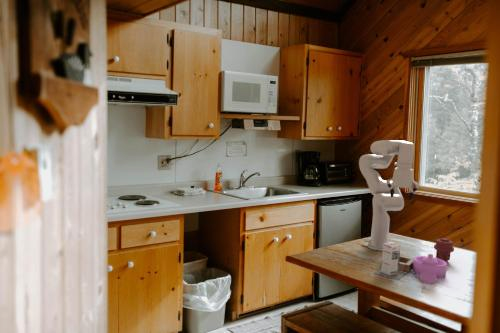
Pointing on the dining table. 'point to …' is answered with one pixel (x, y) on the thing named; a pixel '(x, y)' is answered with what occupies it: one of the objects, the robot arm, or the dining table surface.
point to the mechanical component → (443, 249)
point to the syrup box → (390, 258)
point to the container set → (429, 268)
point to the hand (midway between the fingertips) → (401, 198)
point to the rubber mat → (395, 276)
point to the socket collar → (405, 264)
